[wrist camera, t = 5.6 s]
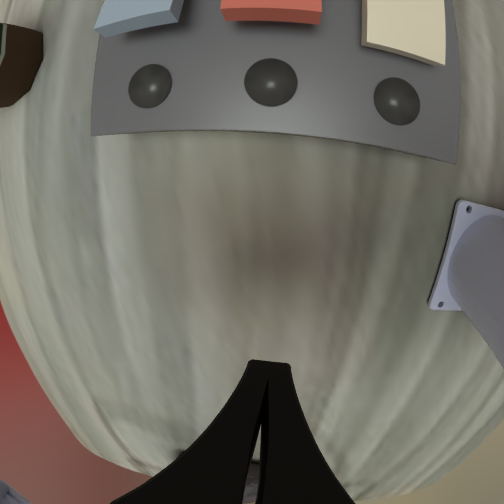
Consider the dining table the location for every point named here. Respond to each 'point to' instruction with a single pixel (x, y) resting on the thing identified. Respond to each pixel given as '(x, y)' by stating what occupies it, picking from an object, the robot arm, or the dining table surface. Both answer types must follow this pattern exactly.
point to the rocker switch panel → (278, 81)
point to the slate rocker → (136, 15)
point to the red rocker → (272, 10)
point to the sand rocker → (406, 28)
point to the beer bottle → (18, 61)
